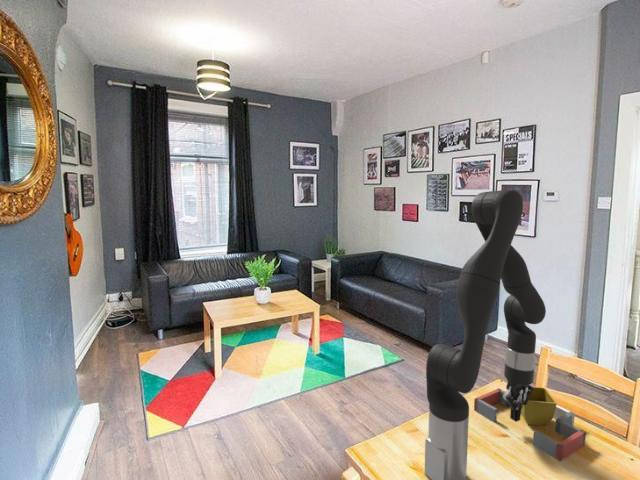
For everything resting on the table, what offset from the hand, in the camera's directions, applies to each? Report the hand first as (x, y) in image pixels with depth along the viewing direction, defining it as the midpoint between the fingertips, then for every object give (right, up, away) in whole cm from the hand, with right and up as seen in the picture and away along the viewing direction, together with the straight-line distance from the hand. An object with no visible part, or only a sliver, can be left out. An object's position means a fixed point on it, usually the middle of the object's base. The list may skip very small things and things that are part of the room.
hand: (515, 419), depth 107 cm
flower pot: (+9, -3, +5) cm, 10 cm away
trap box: (+7, -3, +4) cm, 9 cm away
